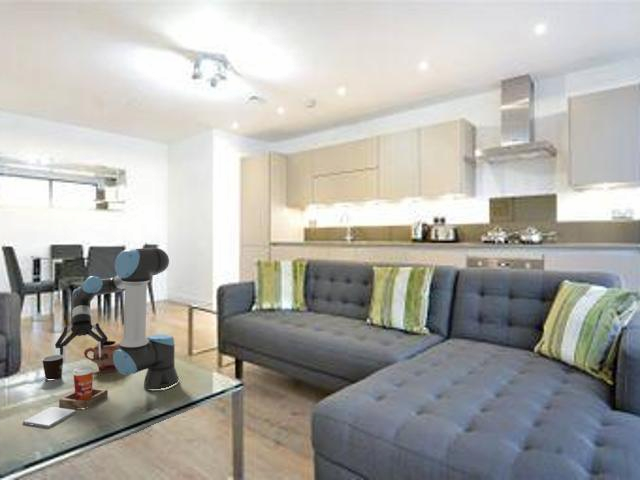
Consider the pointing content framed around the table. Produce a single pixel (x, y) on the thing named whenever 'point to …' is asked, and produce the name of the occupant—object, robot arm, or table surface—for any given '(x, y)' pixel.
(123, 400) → the table surface
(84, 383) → the paper cup
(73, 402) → the walnut collar
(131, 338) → the robot arm
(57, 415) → the slate pad
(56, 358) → the coffee mug
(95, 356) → the decorative planter
